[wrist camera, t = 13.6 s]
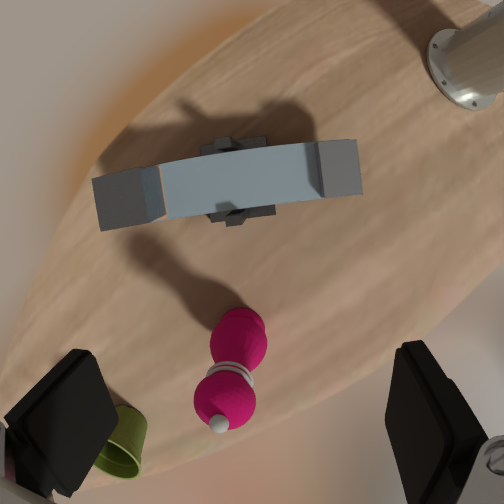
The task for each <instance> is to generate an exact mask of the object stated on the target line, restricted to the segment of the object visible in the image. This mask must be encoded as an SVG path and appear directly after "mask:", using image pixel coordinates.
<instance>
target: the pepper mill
mask: <svg viewBox="0 0 504 504" xmlns="http://www.w3.org/2000/svg"><path fill="white" fill-rule="evenodd" d="M266 349H267V338H266V335H265V326H264V323H263V320H262V319H261V317H260V316H259V315H258V314H257V313H255V312H254V311H252V310H249V309H245V308H237V309H233V310H230V311H229V312H227V313H226V314H225V315H224V316H223V318H222V319H221V322H220V323H219V324H218V325H217V326H216V327H215V328H214V330H213V332H212V334H211V339H210V350H211V355H212V357H213V360H214V362H215V364H214V365H213V366H212V367H210V369H209V370H208V372H207V375H206V377H205V378H204V379H203V380H202V381H201V382H200V383H199V384H198V386H197V388H196V390H195V394H194V408H195V410H196V413H197V414H198V416H199V417H200V418H201V420H202V421H203V422H205V423H206V424H207V425H209V426H210V428H211V430H212V431H214V432H216V433H223V432H225V431H226V430H230V429H235V428H238V427H240V426H242V425H244V424H245V423H246V422H247V421H248V420H249V419H250V418H251V416H252V415H253V413H254V410H255V406H256V396H255V393H254V391H253V377H252V374H251V373H250V372H251V371H252V370H253V369H255V368H256V367H257V366H258V365H259V364H260V362H261V361H262V359H263V358H264V356H265V353H266Z"/></svg>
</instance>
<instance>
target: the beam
mask: <svg viewBox="0 0 504 504" xmlns="http://www.w3.org/2000/svg"><path fill="white" fill-rule="evenodd" d="M148 167H151V168H159V170H160V177H161V184H162V190H163V196H164V202H165V208H166V215H164V216H162V217H160V218H158V219H156V220H154V221H152V222H157V221H163V220H169V219H175V218H182V217H188V216H195V215H201V214H208V213H215V212H221V211H228V210H236V209H243V208H250V207H258V206H265V205H273V204H281V203H289V202H297V201H306V200H314V199H323V198H332V197H342V196H351V195H361V194H363V192H362V181H361V172H360V163H359V155H358V147H357V140H356V139H353V140H350V139H347V140H332V141H319V142H308V143H297V144H287V145H278V146H270V147H262V148H254V149H246V150H239V151H232V152H225V153H219V154H213V155H207V156H201V157H195V158H189V159H184V160H178V161H173V162H168V163H163V164H158V165H153V166H148ZM150 223H151V222H150Z"/></svg>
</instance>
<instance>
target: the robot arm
mask: <svg viewBox="0 0 504 504" xmlns="http://www.w3.org/2000/svg"><path fill="white" fill-rule="evenodd" d="M427 63H428V67H429V70H430V73H431V75H432V77H433V79H434V81H435V83H436V84H437V86H438V87H439V89H440V90H441V91H442V92H443V94H444V95H445V96H446V97H447V98H448V99H450V100H451V101H452V102H453V103H455V104H456V105H458V106H460V107H462V108H464V109H468V110H481V109H484V108H487V107H488V106H490V105H491V104H492V103H493V101H494V100H495V98H496V95H497V93H500V92H504V0H503V1H502V2H500V3H499V4H497V5H496V6H494V7H493V8H491V9H490V10H488V11H487V12H485V13H484V14H482V15H481V16H479V17H478V18H476V19H475V20H474V21H472V22H471V23H469V24H468V25H466V26H465V27H464V28H462V29H461V30H457V29H444V30H441V31H439V32H437V33H436V34H435V35H434V36H433V37H432V38H431V39H430V41H429V43H428V47H427ZM4 419H5V420H6V422H7V424H8V425H9V427H8V428H7V429H6V427H5V426H4V424H3V423H2V422H0V504H57V503H55V502H54V499H53V495H52V490H53V489H55V490H56V492H57V493H59V494H61V495H64V496H66V497H69V498H70V497H71V496H72V494H73V492H74V491H77V490H78V489H79V487H80V486H81V484H82V482H83V481H84V479H85V477H86V475H87V474H88V472H89V470H90V469H91V467H92V465H93V464H94V462H95V460H96V459H97V457H98V456H99V454H100V452H101V451H102V449H103V447H104V446H105V444H106V442H107V441H108V439H109V437H110V436H111V434H112V433H113V431H114V429H115V428H116V426H117V424H118V421H119V417H118V413H117V411H116V409H115V406H114V404H113V402H112V399H111V397H110V394H109V392H108V389H107V387H106V384H105V382H104V379H103V377H102V374H101V371H100V369H99V366H98V363H97V361H96V358H95V357H94V355H92V353H91V352H90V351H88V350H82V349H73V350H71V351H70V352H69V353H68V354H67V355H66V356H65V357H64V358H63V359H62V360H61V361H60V362H58V363H57V364H56V365H55V366H54V367H53V368H52V369H51V370H50V371H49V372H48V373H47V374H46V375H45V376H44V377H43V378H42V379H41V380H40V381H39V382H38V383H37V384H36V385H35V386H34V387H33V388H32V389H31V390H30V391H29V392H28V393H27V394H26V395H25V396H24V397H23V398H22V399H21V400H20V401H19V402H18V403H17V404H16V405H15V406H14V407H13V408H12V409H11V410H10V411H9V412H8V413H7V414H6V415H5V416H4ZM385 425H386V429H387V432H388V435H389V438H390V442H391V445H392V449H393V452H394V455H395V459H396V463H397V466H398V470H399V473H400V477H401V481H402V484H403V488H404V492H405V496H406V500H407V503H408V504H504V435H501V436H495V437H493V438H491V439H489V438H488V437H487V435H486V433H485V431H484V430H483V428H482V426H481V425H480V423H479V421H478V420H477V418H476V416H475V415H474V413H473V411H472V410H471V408H470V407H469V405H468V403H467V402H466V400H465V399H464V397H463V395H462V394H461V392H460V391H459V389H458V388H457V386H456V384H455V383H454V382H453V381H452V380H451V379H449V378H447V376H446V375H445V373H444V372H443V370H442V369H441V367H440V366H439V364H438V362H437V361H436V359H435V358H434V356H433V355H432V354H431V352H430V351H429V349H428V348H427V346H426V345H425V344H424V342H423V341H422V340H417V341H410V342H404V343H403V344H402V346H401V348H397V349H396V352H395V359H394V367H393V374H392V380H391V386H390V392H389V398H388V403H387V408H386V413H385Z"/></svg>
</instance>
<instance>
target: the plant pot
mask: <svg viewBox="0 0 504 504" xmlns="http://www.w3.org/2000/svg"><path fill="white" fill-rule="evenodd" d="M115 409H116V411H117V413H118V417H119V421H118V424H117V426H116V428H115V429H114V431H113V433H112V434H111V436H110V437H109V439H108V441H107V442H106V444H105V446H104V447H103V449H102V451H101V452H100V454H99V456H98V457H97V459H96V460H95V462H94V464H93V466H94V467H95V468H97V469H98V470H100V471H102V472H103V473H105V474H107V475H110V476H112V477H115V478H118V479H123V480H133V479H136V478H138V477H139V476H140V475H141V473H142V469H141V465H140V464H141V453H142V448H143V444H144V439H145V435H146V430H147V421H146V419H145V418H144V416H143V415H142V414H141V413H140V412H139V411H137V410H136V409H134V408H129V407H127V406H126V405H118V406H116V407H115Z"/></svg>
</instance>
